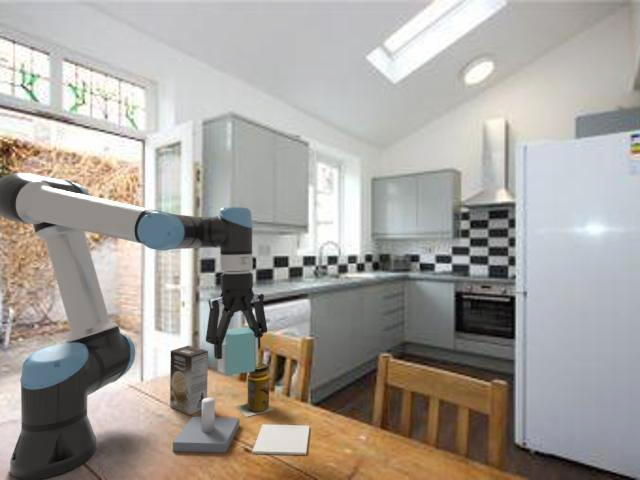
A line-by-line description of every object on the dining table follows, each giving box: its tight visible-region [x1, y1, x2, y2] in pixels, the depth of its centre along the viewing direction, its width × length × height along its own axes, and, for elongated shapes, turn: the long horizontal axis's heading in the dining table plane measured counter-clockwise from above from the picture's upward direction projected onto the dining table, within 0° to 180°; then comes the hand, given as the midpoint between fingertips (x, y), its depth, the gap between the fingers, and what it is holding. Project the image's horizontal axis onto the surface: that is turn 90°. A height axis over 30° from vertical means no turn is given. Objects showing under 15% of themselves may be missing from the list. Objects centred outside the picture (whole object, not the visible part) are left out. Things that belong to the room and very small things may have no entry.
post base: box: [172, 397, 240, 454], centre depth 90 cm, size 12×12×9 cm
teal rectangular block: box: [223, 326, 255, 376], centre depth 89 cm, size 6×6×9 cm
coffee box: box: [169, 344, 209, 415], centre depth 106 cm, size 9×6×16 cm
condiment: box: [236, 362, 275, 418], centre depth 106 cm, size 7×8×12 cm
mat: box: [251, 423, 311, 456], centre depth 89 cm, size 12×12×1 cm
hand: (238, 367), depth 89 cm, fingers closed on teal rectangular block, 8 cm apart
